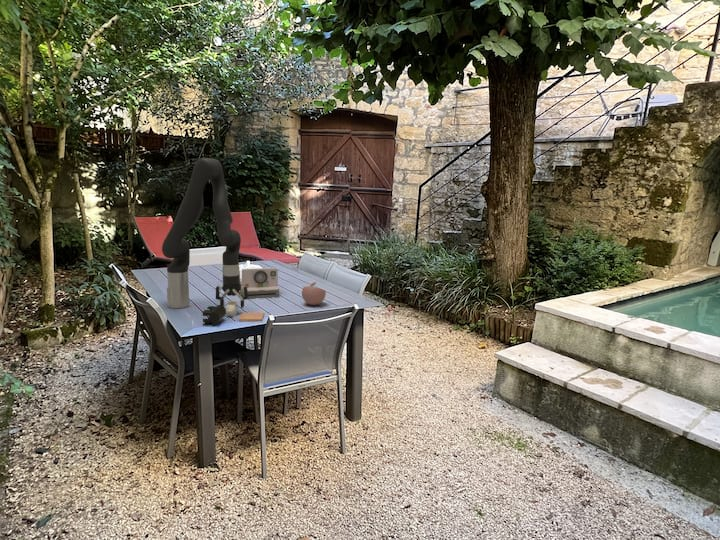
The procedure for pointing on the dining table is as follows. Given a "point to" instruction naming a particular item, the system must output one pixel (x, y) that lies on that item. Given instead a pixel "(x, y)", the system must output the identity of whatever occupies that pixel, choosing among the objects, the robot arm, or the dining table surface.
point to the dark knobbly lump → (214, 314)
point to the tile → (251, 317)
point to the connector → (231, 308)
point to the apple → (313, 294)
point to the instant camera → (260, 282)
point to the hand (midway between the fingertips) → (232, 308)
